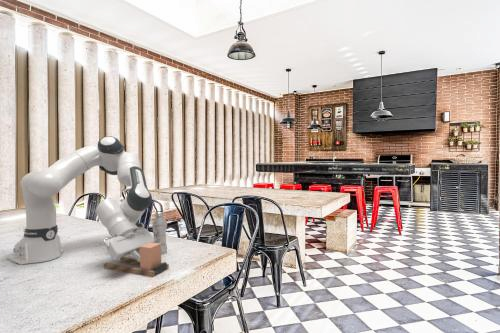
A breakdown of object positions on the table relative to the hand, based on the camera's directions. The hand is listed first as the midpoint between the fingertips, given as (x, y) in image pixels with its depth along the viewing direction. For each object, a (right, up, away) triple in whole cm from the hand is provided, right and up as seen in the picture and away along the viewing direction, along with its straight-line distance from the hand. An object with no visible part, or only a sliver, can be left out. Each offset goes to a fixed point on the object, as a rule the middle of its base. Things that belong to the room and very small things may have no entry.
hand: (142, 259), depth 115 cm
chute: (-3, -5, +2) cm, 6 cm away
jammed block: (+4, -4, -1) cm, 5 cm away
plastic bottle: (0, -5, +22) cm, 23 cm away
